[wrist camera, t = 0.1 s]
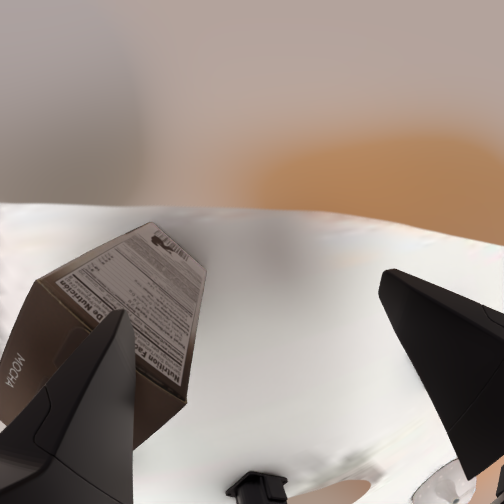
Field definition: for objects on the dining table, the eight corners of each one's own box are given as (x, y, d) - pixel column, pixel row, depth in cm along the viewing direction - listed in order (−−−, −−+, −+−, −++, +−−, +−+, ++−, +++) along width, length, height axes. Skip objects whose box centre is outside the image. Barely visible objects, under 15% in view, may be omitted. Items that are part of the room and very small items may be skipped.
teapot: (395, 511, 46) (418, 545, 32) (429, 469, 42) (460, 506, 29) (444, 488, 49) (467, 515, 36) (476, 444, 46) (505, 472, 33)
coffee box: (146, 343, 25) (87, 490, 9) (90, 296, 24) (-19, 409, 8) (211, 270, 24) (194, 410, 8) (150, 217, 23) (29, 276, 7)
